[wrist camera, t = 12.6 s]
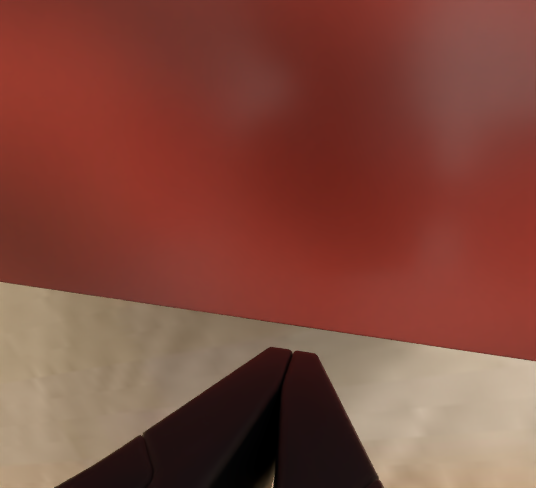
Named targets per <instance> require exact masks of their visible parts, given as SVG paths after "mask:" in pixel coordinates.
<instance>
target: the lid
mask: <svg viewBox="0 0 536 488" xmlns="http://www.w3.org/2000/svg"><path fill="white" fill-rule="evenodd" d="M0 282H5V283H12V284H18V285H25V286H32V287H39V288H45V289H52V290H59V291H66V292H72V293H79V294H86V295H93V296H99V297H106V298H113V299H120V300H126V301H133V302H140V303H147V304H153V305H160V306H167V307H173V308H180V309H187V310H194V311H200V312H207V313H214V314H221V315H227V316H234V317H241V318H248V319H254V320H261V321H268V322H275V323H281V324H288V325H295V326H302V327H308V328H315V329H322V330H329V331H335V332H342V333H349V334H356V335H362V336H369V337H376V338H382V339H389V340H396V341H403V342H409V343H416V344H423V345H430V346H436V347H443V348H450V349H457V350H463V351H470V352H477V353H484V354H490V355H497V356H504V357H511V358H517V359H524V360H531V361H536V0H0Z"/></svg>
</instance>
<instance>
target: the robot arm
mask: <svg viewBox="0 0 536 488" xmlns="http://www.w3.org/2000/svg"><path fill="white" fill-rule="evenodd" d="M273 478H274V487H273V488H384V487H383V485H382V483H381V481H380V480H379V477H378V475H377V473H376V471H375V469H374V467H373V465H372V463H371V461H370V459H369V457H368V455H367V453H366V451H365V449H364V447H363V445H362V443H361V441H360V439H359V437H358V435H357V433H356V431H355V429H354V427H353V425H352V423H351V421H350V419H349V417H348V415H347V413H346V411H345V409H344V407H343V405H342V403H341V401H340V399H339V397H338V395H337V393H336V391H335V389H334V387H333V385H332V383H331V381H330V379H329V377H328V375H327V373H326V371H325V369H324V367H323V365H322V363H321V361H320V359H319V357H318V356H317V355H316V354H315V353H309V352H302V351H295V352H294V353H292V351H291V350H289V349H283V348H276V347H269V348H267V349H266V350H265V351H263V352H262V353H260V354H259V355H257V356H256V357H254V358H253V359H251V360H250V361H248V362H247V363H245V364H244V365H242V366H241V367H239V368H238V369H236V370H235V371H234V372H232V373H231V374H229V375H228V376H226V377H225V378H223V379H222V380H220V381H219V382H217V383H216V384H214V385H213V386H211V387H210V388H208V389H207V390H205V391H204V392H203V393H201V394H200V395H198V396H197V397H195V398H194V399H192V400H191V401H189V402H188V403H186V404H185V405H183V406H182V407H180V408H179V409H177V410H176V411H174V412H173V413H172V414H170V415H169V416H167V417H166V418H164V419H163V420H161V421H160V422H158V423H157V424H155V425H154V426H152V427H151V428H149V429H148V430H146V431H145V432H144V433H143V435H142V436H141V435H139V436H137V437H136V438H134V439H133V440H131V441H130V442H128V443H127V444H125V445H124V446H122V447H121V448H119V449H118V450H116V451H115V452H113V453H112V454H110V455H108V456H107V457H105V458H104V459H102V460H101V461H99V462H97V463H96V464H94V465H93V466H91V467H89V468H88V469H86V470H84V471H82V472H81V473H79V474H77V475H75V476H74V477H72V478H70V479H68V480H67V481H65V482H63V483H61V484H60V485H58V486H56V487H54V488H271V485H272V482H273Z"/></svg>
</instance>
